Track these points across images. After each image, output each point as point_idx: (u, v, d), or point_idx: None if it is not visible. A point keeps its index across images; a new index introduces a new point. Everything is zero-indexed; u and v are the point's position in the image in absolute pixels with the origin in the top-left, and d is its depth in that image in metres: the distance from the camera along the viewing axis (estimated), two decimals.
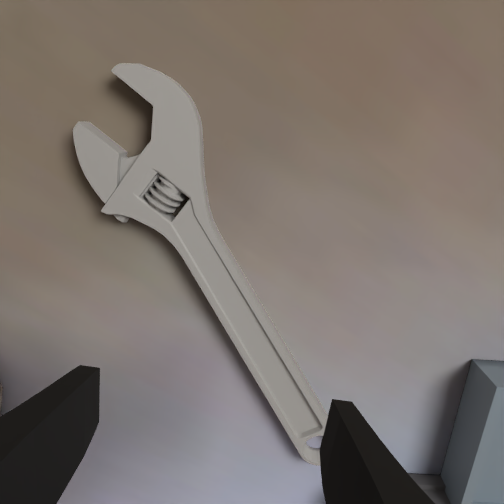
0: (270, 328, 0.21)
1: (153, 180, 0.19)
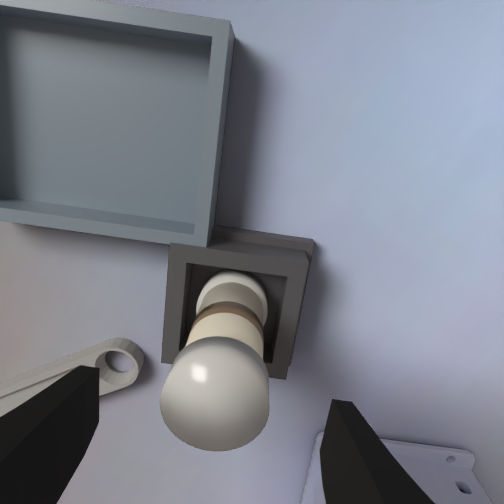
0: None
1: None
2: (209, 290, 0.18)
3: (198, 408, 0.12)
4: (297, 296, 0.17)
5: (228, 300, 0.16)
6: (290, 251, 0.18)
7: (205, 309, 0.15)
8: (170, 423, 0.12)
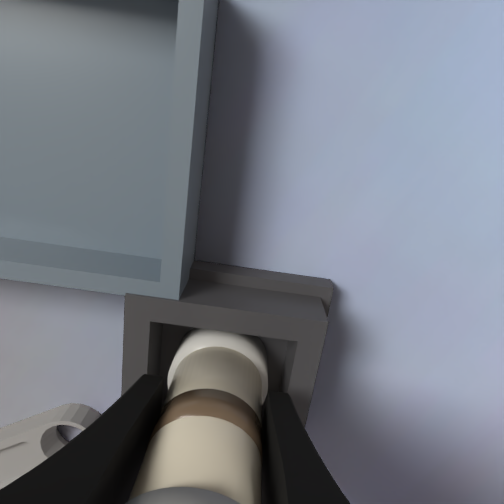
0: None
1: None
2: (185, 358, 0.12)
3: None
4: (311, 368, 0.12)
5: (209, 385, 0.10)
6: (300, 300, 0.13)
7: (174, 402, 0.10)
8: None
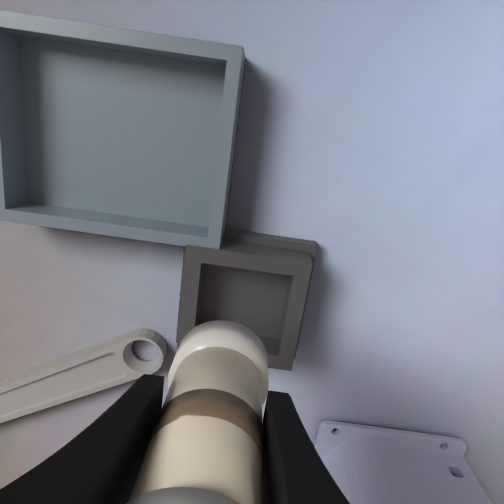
0: (2, 387, 0.23)
1: None
2: (185, 358, 0.12)
3: None
4: (302, 293, 0.19)
5: (210, 385, 0.10)
6: (295, 252, 0.19)
7: (174, 402, 0.10)
8: None
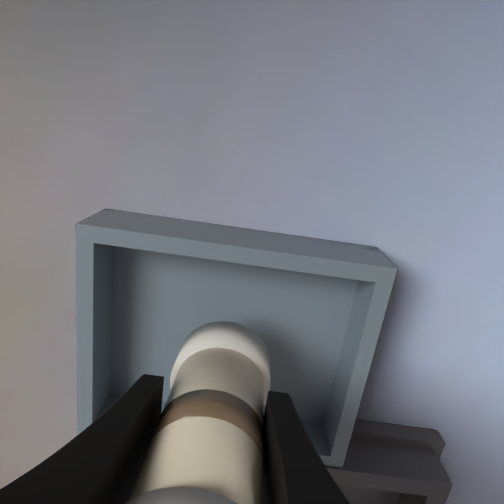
0: None
1: None
2: (187, 359, 0.12)
3: None
4: None
5: (210, 386, 0.10)
6: (422, 456, 0.17)
7: (175, 402, 0.10)
8: None
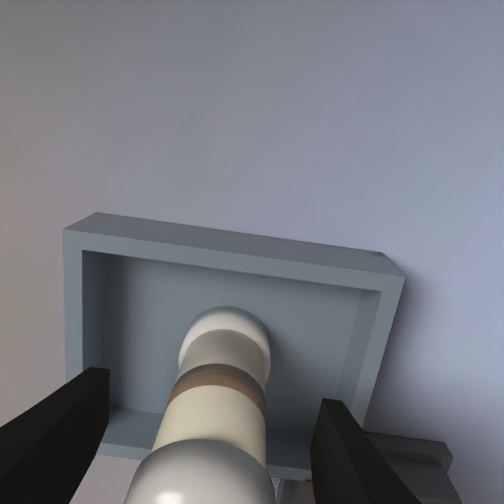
0: None
1: None
2: (194, 339, 0.13)
3: None
4: None
5: (218, 360, 0.12)
6: (429, 471, 0.16)
7: (186, 375, 0.11)
8: None
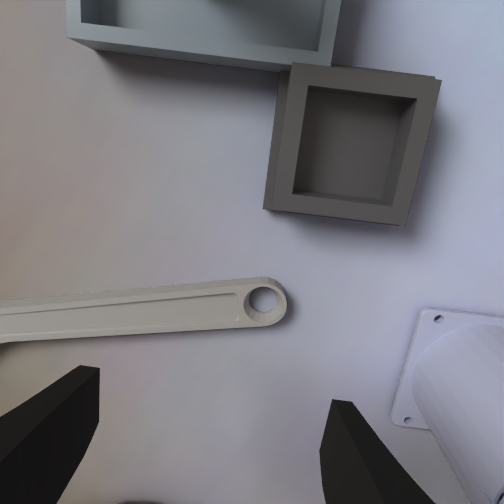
0: (99, 299, 0.21)
1: None
2: None
3: None
4: (426, 122, 0.16)
5: None
6: None
7: None
8: None
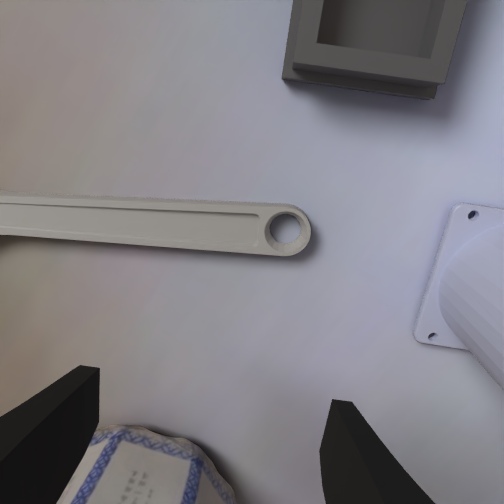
0: (112, 201, 0.19)
1: None
2: None
3: None
4: None
5: None
6: None
7: None
8: None
